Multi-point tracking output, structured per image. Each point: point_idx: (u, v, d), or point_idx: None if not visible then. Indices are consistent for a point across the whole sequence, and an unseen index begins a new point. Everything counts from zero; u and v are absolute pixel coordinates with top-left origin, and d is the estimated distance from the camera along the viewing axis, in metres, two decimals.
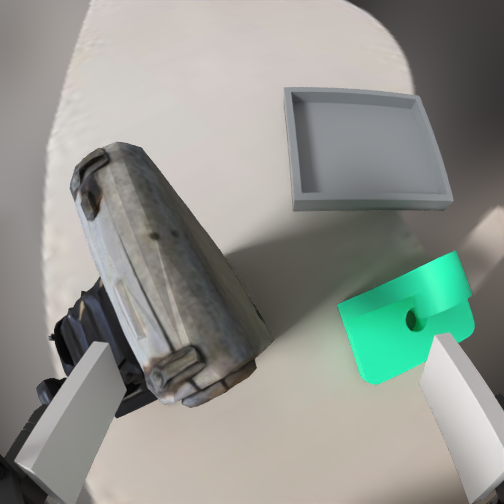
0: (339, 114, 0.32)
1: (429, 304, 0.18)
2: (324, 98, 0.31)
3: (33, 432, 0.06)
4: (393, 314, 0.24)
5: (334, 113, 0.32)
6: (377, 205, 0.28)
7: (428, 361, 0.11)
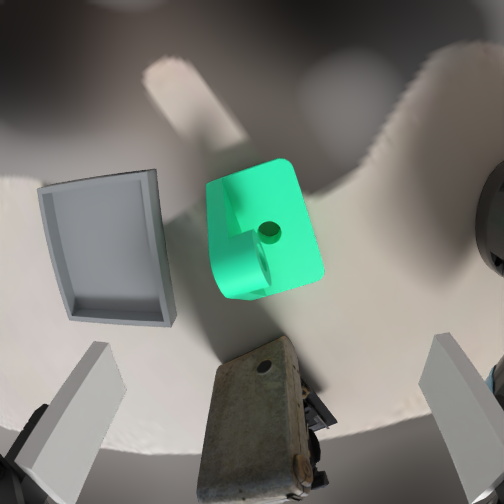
0: (79, 269, 0.33)
1: (260, 288, 0.23)
2: (67, 283, 0.33)
3: (33, 432, 0.06)
4: None
5: (79, 273, 0.33)
6: (162, 252, 0.31)
7: (428, 361, 0.11)
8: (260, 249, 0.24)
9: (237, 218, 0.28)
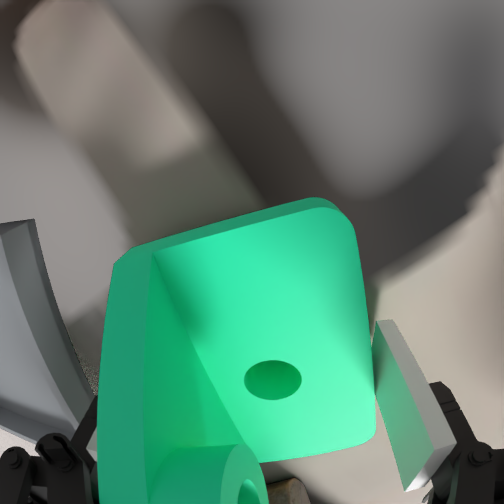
0: None
1: None
2: None
3: None
4: (255, 416, 0.12)
5: None
6: (69, 373, 0.14)
7: (372, 347, 0.12)
8: (247, 479, 0.07)
9: (196, 349, 0.11)
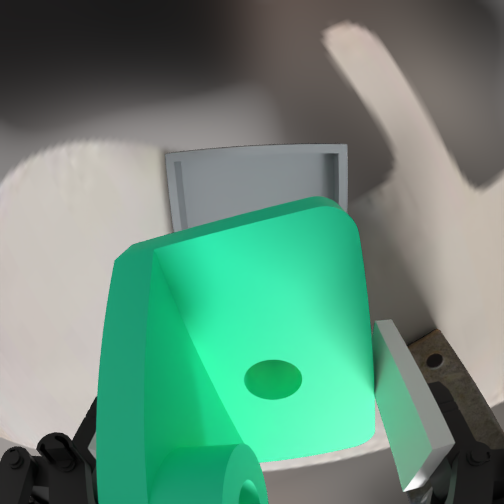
0: None
1: None
2: None
3: None
4: (254, 416, 0.12)
5: None
6: None
7: None
8: (248, 479, 0.07)
9: (196, 348, 0.11)
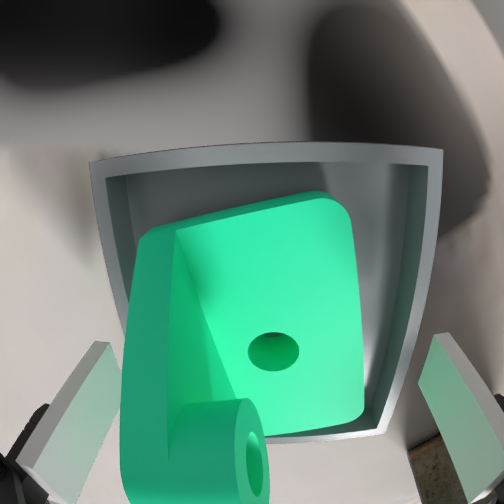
0: None
1: None
2: None
3: (34, 432, 0.06)
4: (255, 387, 0.14)
5: None
6: None
7: (427, 361, 0.11)
8: (252, 433, 0.09)
9: (207, 320, 0.12)
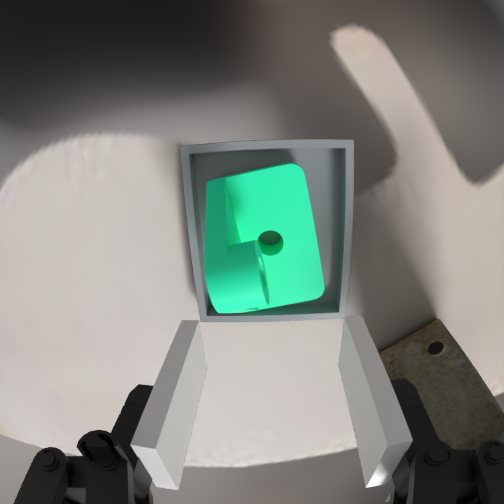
0: None
1: (257, 306, 0.20)
2: (204, 274, 0.29)
3: (146, 411, 0.08)
4: None
5: None
6: None
7: (342, 342, 0.13)
8: (260, 262, 0.22)
9: (237, 223, 0.25)
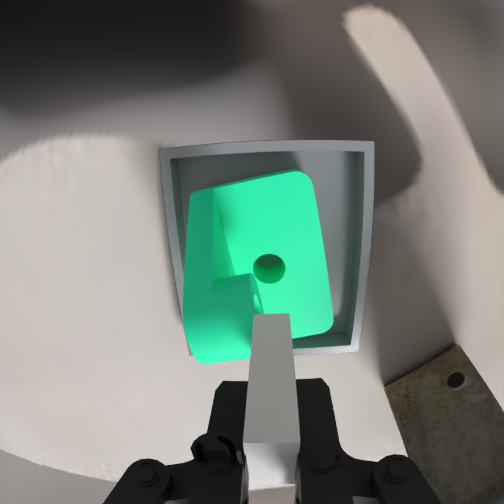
0: None
1: None
2: None
3: (249, 406, 0.08)
4: None
5: None
6: None
7: None
8: (257, 299, 0.17)
9: (228, 245, 0.20)
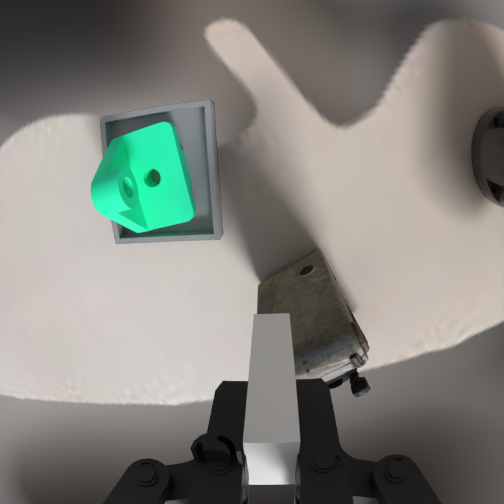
0: None
1: (122, 208, 0.29)
2: None
3: (249, 406, 0.08)
4: (146, 196, 0.35)
5: None
6: (216, 170, 0.36)
7: None
8: (131, 183, 0.30)
9: (130, 165, 0.34)
